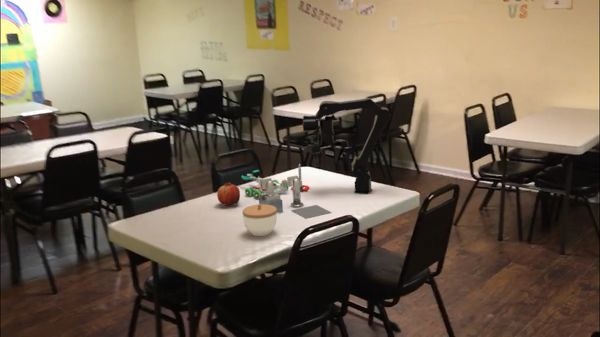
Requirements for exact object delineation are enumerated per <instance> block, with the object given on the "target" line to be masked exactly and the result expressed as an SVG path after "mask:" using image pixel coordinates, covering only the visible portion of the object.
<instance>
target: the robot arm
mask: <svg viewBox="0 0 600 337" xmlns="http://www.w3.org/2000/svg"><path fill="white" fill-rule="evenodd" d="M318 106H319V108H318V110H317V111H316V113H315V115H303V116H302V130H303V132H316V131H317V130H318V129H319V132H318V133H317V134H318V135H317V136H316V134H311V135H310V136H309V140H310V143H311V144H306V147H305V152H308V153H309V154H312V156H313V157H314V160H315V163H316V165H317V167H319V168H320V167H321V163H322V162H321V160H322V152H321V150H323V149H329V148H333V151H334V160H335V164H338V163H339V160H340V159H341V156H342V154H343V152H344V150H346V149H347V148H348V147H349V142H348V140H345V139H342V138H340V139H336V140H334V136H335V135H336V133H335V132H334V121H337V120H338V117H336V116H335V114H337V113H339V112H346V111H352V110H361V109H368V110H369V111H371V112H372V113H373V114H375V116H374V122H373V126H372V127H371V130H370V133H368V134H369V135H368V137H367V139H366V142H365V144H364V145H363V148H362V150H361V152H360V154H359V155H358V156H356V155H354V158H353V161H352V162H351V171H352V173H353V175H354V176H355V177H356V178H355V181H354V193H356V194H364V195H365V194H367V195H368V194H370V193H371V192H372V191H373V188H372V178H371V177H372V176H371V173H370V171H369V170H368V164H369V163H368V162H369V158H370V156H371V154H372V152H373V150H374V147H375V145H376V143H377V141H378V139H379V136H380V134H381V133H382V131H383V129H384V128H386V126H387V124H388V123H389V121H390V120H391V118H392V112H390V111H389V109H388V108H387V107H385V106H380V104H378V103H376V102H375V101H374V100H373V99H372V98H371V97H366V98H359V99H353V100H352V99H351V100H345V101H334V100H333V101H332V100H323V101H322V102H320V104H319V105H318Z"/></svg>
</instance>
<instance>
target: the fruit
mask: <svg viewBox="0 0 600 337" xmlns="http://www.w3.org/2000/svg"><path fill="white" fill-rule="evenodd" d="M216 194H217V199H218V200H217V201H218V202H219V203H220V204H222V205H224V206H228V207H229V206H235V205H237V204H238V203H239V201H240V197H241V192H240V189H239V187H238V186H237V185H235V184H234V183H233V184H232V182H231V181H230V182H226V183H224V185H222V186H220V187H219V188H218V189H217V193H216Z"/></svg>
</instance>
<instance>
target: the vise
mask: <svg viewBox="0 0 600 337" xmlns="http://www.w3.org/2000/svg"><path fill="white" fill-rule="evenodd" d="M273 180H274V179H272V178H271V177H268V178H263V179H261V180H260V183H261V189H265V183H266V193H262V194H260V197H259V199H258V204H265V205H272V206H274V207H276V208H277V213H283V212H284V205H283V199H281V195H280V193H278V194H275V193H276V192H274V186H273Z"/></svg>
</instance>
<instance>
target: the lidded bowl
mask: <svg viewBox="0 0 600 337" xmlns="http://www.w3.org/2000/svg"><path fill="white" fill-rule="evenodd" d="M241 213H242V218H243V224H244V227H245V228H246V230H247V231H248V232H250V234H251V235H252V236H255V237H264V236H268V235H270V234H271V233H272V231H274V229H275V227H276V225H277V216H278V215H277V208H276V207H274V206H272V205H265V204H259V203H258V204H253V205H250V206H245V207H244V208H243V209H242V212H241Z"/></svg>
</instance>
